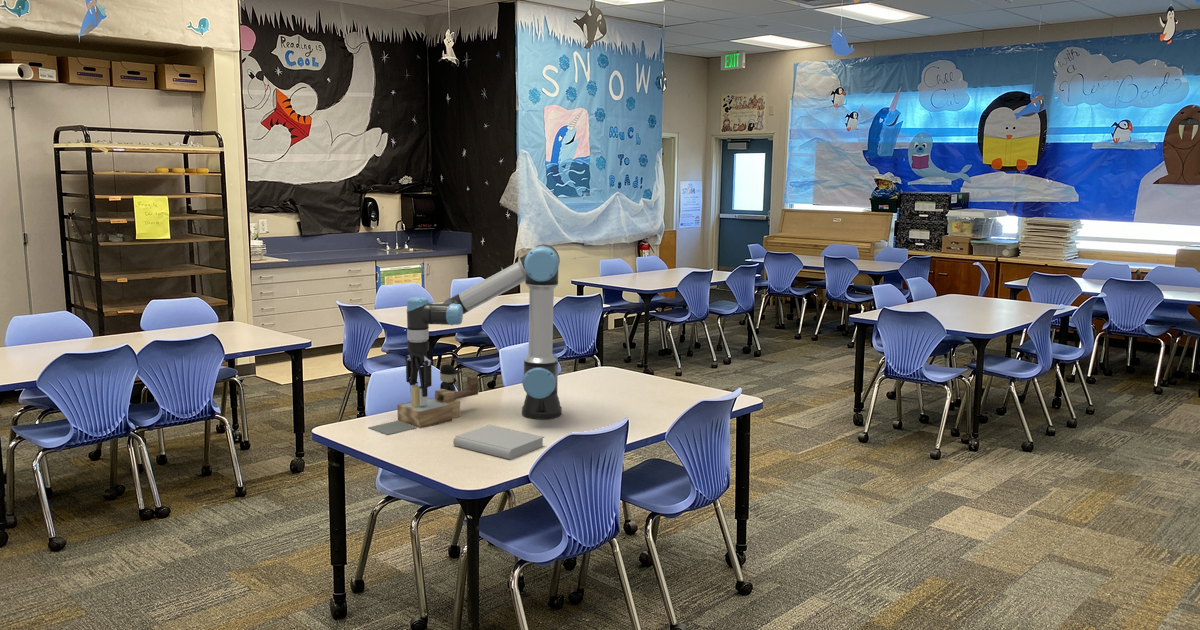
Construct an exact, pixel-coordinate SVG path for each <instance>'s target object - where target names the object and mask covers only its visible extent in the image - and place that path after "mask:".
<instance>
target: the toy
mask: <svg viewBox="0 0 1200 630" xmlns="http://www.w3.org/2000/svg"><path fill="white" fill-rule="evenodd" d="M460 373H462V370H459V369H455V368H454V366H453V365H452V364H442V365H441V366H440V371H439V375H440V377H439V379H440V382H441V383H440V384H439V385H440V389H439V390H441V389H445V390H449V391H452V392H457V391H456V386H455V383H456V382H457V374H460Z"/></svg>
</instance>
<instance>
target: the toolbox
mask: <svg viewBox="0 0 1200 630" xmlns="http://www.w3.org/2000/svg"><path fill="white" fill-rule="evenodd" d="M442 396H443V400H442ZM427 399H430V400H433V401H436V402H440V403H443V404H446V405H447V406H442V407H437V408H433V409H428V410H424V411H419V410H416V409H413V408H409V407H406V406H403V404H407V403H411V401H408V402H404V403H403V402H402V403H399V404H397V408H396V409H397V421H399V422H402V423H405V424H408V425H411V426H413V427H416V428H418V429H423V428H428V427H432V426H436V425H440V424H445V423H450V422H453V419H455V418H458V417H461V400H459V399H455V392H452V391H449V390H445V389H441V390H440V389H436V390H434V399H433V398H429V397H427Z"/></svg>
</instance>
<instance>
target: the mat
mask: <svg viewBox="0 0 1200 630" xmlns="http://www.w3.org/2000/svg"><path fill="white" fill-rule="evenodd" d="M368 429H369V430H372V431H375V432H378V433H381V434H383V435H385V436H390V435H394V434H399V433H402V432H403V433H404V432H406V431H411V430H416V429H417V427H415V426H412V425H409V424H406V423H403V422H400V421H398V420H395V421H391V422H386V423H382V424H377V425H373V426H368Z"/></svg>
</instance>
